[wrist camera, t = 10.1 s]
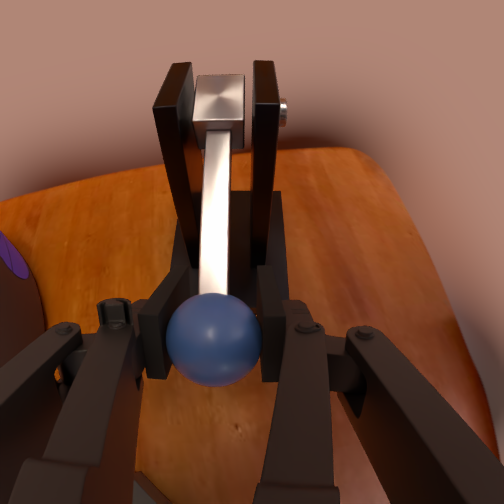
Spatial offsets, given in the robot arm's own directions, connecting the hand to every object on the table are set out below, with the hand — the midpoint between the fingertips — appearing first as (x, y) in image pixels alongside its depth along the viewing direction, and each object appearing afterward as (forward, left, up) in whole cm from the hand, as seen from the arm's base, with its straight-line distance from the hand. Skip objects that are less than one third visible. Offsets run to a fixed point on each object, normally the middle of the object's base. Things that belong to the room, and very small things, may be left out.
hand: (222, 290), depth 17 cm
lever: (+1, -1, +4) cm, 4 cm away
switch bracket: (+4, -4, -5) cm, 7 cm away
